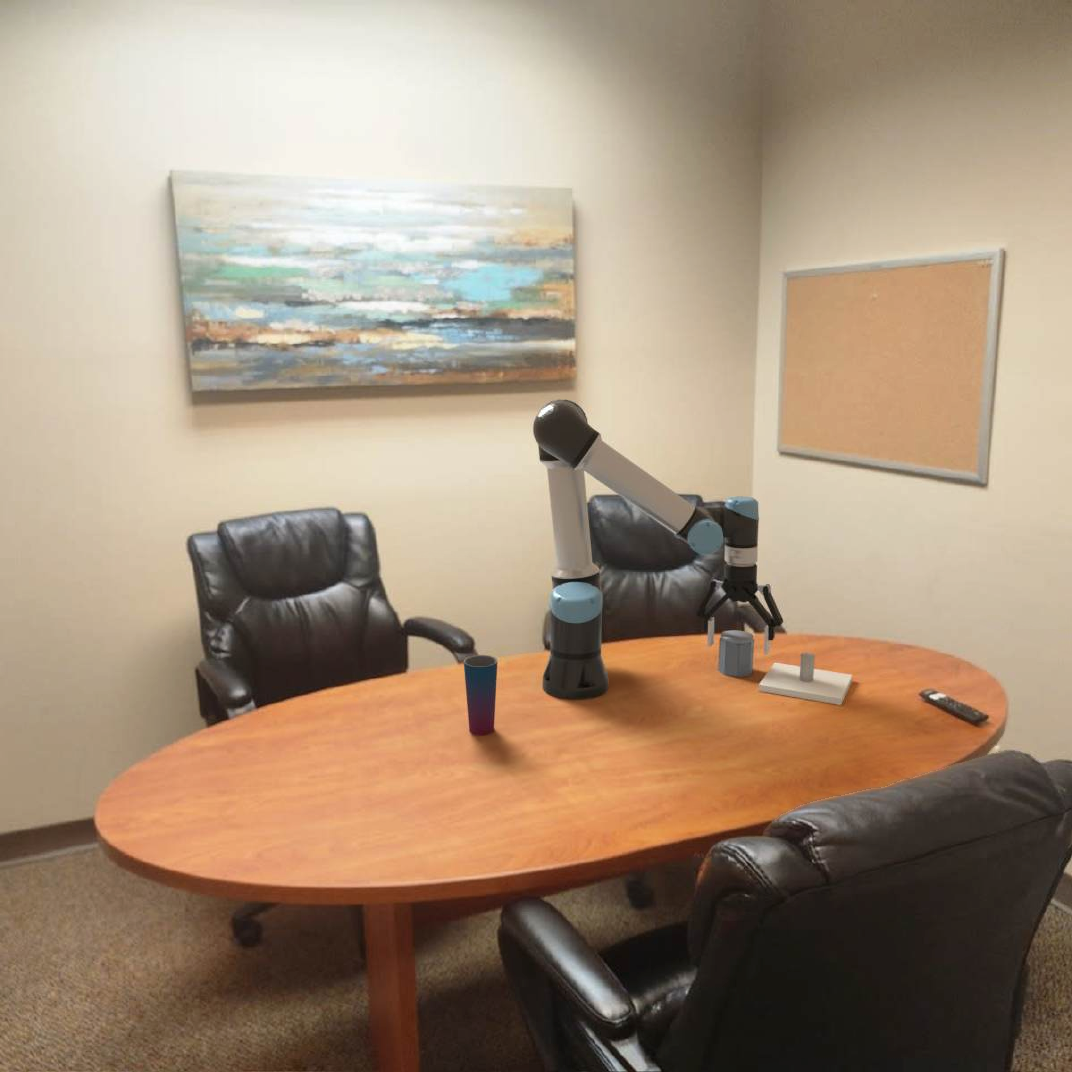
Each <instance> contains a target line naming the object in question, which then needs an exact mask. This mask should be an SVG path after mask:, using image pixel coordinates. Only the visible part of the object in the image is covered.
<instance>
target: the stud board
mask: <svg viewBox="0 0 1072 1072" xmlns="http://www.w3.org/2000/svg"><path fill="white" fill-rule="evenodd" d="M815 656H816V655H815V654H814V653H811V652H803V653H801V654H800V666H798V665H792V664H787V663H779V662H774V663H773V664H772V665H771V667H770V669H768V671H767V672H766V674H765V675H764V677H763V678H762V679H761V681H760V682H759V683H758V692H764V693H769V694H774V695H780V696H787V697H792V698H797V699H804V700H809V701H815V702H820V703H827V704H831V705H838V706H842V703H843V702H844V699H845V698H846V695H847V693H848V691H849V689H850V686H851V684H852V682H853V674H849V673H843V672H836V671H831V670H824V669H816V668H815V660H816V659H815V658H816V657H815Z"/></svg>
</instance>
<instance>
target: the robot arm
mask: <svg viewBox="0 0 1072 1072" xmlns="http://www.w3.org/2000/svg"><path fill="white" fill-rule="evenodd" d="M533 421H534V422H533V424H532V426H533V427H532V433H533V437H534V440H535V442H536V444H537V447H538V456H539V462H540V463H541V464H543V465H544V466H545V468H546V472H547V480H548V481H547V482H548V492H549V501H550V511H551V512H550V513H551V521H552V522H551V523H552V530H553V531H552V532H553V540H554V542H553V543H554V551H555V559H556V562H555V563H556V566H555V567H554V568H553V570H552V571H551V574H550V575H551V584H552V591H551V594H550V599H549V609H550V617H549V618H550V620H549V621H550V625H549V626H550V630H549V631H550V635H549V636H550V638H549V639H550V640H549V641H550V643H549V651H550V652H549V653H550V655H549V658H548V661H547V663H546V666H545V668H544V672H543V676H542V689H543V691H544V692H546V693H547V694H548V695H550V696H554V697H557V698H559V699H566V700H567V699H569V700H587V699H593V698H596V697H599V696H602V695H604V694H605V693H607V692H608V690H609V677H608V673H607V669H606V667H605V663H604V661H603V660H604V659H603V657H602V629H603V627H602V626H603V625H602V623H603V618H602V615H603V605H604V592H603V589H602V584H601V575H600V574H601V573H600V568H599V567H598V566H597V565H596V564H595V563H594V562H593V555H592V544H591V543H592V542H591V532H590V523H589V511H588V509H589V508H588V499H587V490H586V489H587V487H586V478H585V472H586V473H587V474H588V475H590V476H592V477H593V478H594V479H595V480H596V481H598V482H600V483H601V484H602V485H604V486H605V487H607V488H608V489H610V490H611V491H613V493H616V494H617V495H618V496H620V497H621V498H622V499H624V500H626V502H629V503H630V504H631V505H632V506H634V507H636V508H637V509H638V510H640V511H641V512H643V513H644V514H645V515H647V516H648V517H650V518H651V519H652V520H654V521H656V522H657V523H659V524H660V525H661V526H663V527H664V528H665V529H667V530H668V531H669V532H671V533H673V535H674V537H675V538H676V539H680V540H682V541H684V542H685V543H686V544H688V545H689V547H690V549H692V550H693V551H694V552H695V553H697V554H699V555H701V556H703V555H705V556H706V555H707V556H708V555H712V554H714V553H716V552H717V551H718V550H719V549H720V548H721V547H722V546H723V545H722V544H723V541H724V561H725V563H724V564H723V565H724V566H723V567H724V568H723V569H724V570H723V581H720V580H718V579H717V578H714V579H713V580H711V581H710V585H709V589H708V592H707V593H706V596H705V597H704V599H703V601H702V602H701V604H700V605H699V607H698V610H697V612H696V617H700V618H702V619H703V630H704V633H707V647H708V648H709V647H711V648H712V647H713V645H714V642H715V617H712V616H713V615H714V614H715V613H716V612H717V611H718V610H720V608H721V607H722V606H723V605H724V604H725V603H726V602H727V601H728V600H730V601H732V602H740V603H749V605H750V606H752V607H753V609H754V610H755V611H756V613H757V614H758V615H759V616H760V618H761V619H762V620H763V621H764V623H765V624H766V625H765V626H764V637H763V638H764V640H763V641H764V644H763V646H764V647H763V655H768V654H769V653H770V651H771V641H773V640H774V639H775V637H776V636H775V635H776V627H781V626H782V624H783V623H784V619H783V617H782V614H781V612H780V610H779V607H778V606H777V604H776V601H775V599H774V597H773V595H772V590H771V585H770V584H769V583H766V584H765V585H758V580H757V579H758V578H757V577H758V565H757V562H758V549H759V548H758V542H759V522H760V517H759V501H758V500H757V499H755V498H754V497H751V496H750V497H749V496H743V495H742V496H732V497H728V498H727V499H726V500H725V503H724V505H722V506H695V505H694V504H692V503H691V502H689V501H687V500H686V499H685V498H684V497H682V496H680V495H679V494H678V493H676V492H675V490H672V489H671V488H669V487H668V486H666V485H665V484H664V483H662V482H661V481H660V480H659V479H656V477H654V476H652V475H651V474H649V473H648V472H647V471H645V470H644V469H643V468H641V467H640V466H639V465H637V464H636V463H634V462H633V461H631V460H630V459H629V458H627V457H625V455H623V454H621V453H620V452H619V451H618V450H616V449H615V448H613V447H612V446H610V445H609V444H607V443H606V442H604V441H603V439H602V438H603V437H602V434H601V433H600V432H599V431H598V430H596V429H594V428H593V427H592V426H591V425H589V423H588V417H587V415H586V413H585V411H584V409H583V408H582V407H581V406H580V405H579V404H577V403H576V402H574V401H573V400H570V399H555V400H552V401H549V402H547V403H546V404H545V405H544V406H543V407H542V408H541V409H540V411H538V413H537V414H536V416H535V418H534V420H533ZM720 588H722V589H723V591H724V592H725V594H724V595H723V596H722V597H721V598H720V599H719V600H718V601H717V602H716V603H715V604H714V605H713V606H712V607H711V608H710V609H709V610H708V611H706V610H707V608H708V606H709V604H710V602H711V601H712V599H713V597H714V596H715V594H716V592H717V591H718V590H719V589H720ZM757 592H760V595H762V596H763V599H764V602H765V603H766V605H767V609H769V612H768V610H767V609H766V608H765V606H764V605H763V604H762V602H761V601H760V600H759V597H758V596H757V595H756V593H757Z"/></svg>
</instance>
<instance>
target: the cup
mask: <svg viewBox="0 0 1072 1072" xmlns="http://www.w3.org/2000/svg"><path fill="white" fill-rule="evenodd" d="M498 661H499V660H498V658H496V657H495V656H492V655H488V654H487V655H486V654H475V655H470V656H468V657H465V658H464V660H463V668H464V682H465V691H466V704H467V705H466V706H467V717H468V729H469V732H470V734H472V735H475V736H486V735H490V734H492V733H493V732H494V730H495V716H496V697H497V695H496V694H497V680H498V679H497V677H498Z"/></svg>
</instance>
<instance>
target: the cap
mask: <svg viewBox="0 0 1072 1072" xmlns="http://www.w3.org/2000/svg"><path fill="white" fill-rule="evenodd" d="M718 646H719V647H718V663H717V664H718V665H717V667H718V668H717V670H718V672H720V673H721V674H723V676H728V677H735V678H741V677H749V676H750V675H751V674H752V673H753V669H754V654H755V653H754V652H755V651H754V650H755V638H754V635H753V634H752V633H750V632H748V631H745V630H744V631H743V630H737V629H736V630H734V629H733V630H724V631H722V632H721V633H720V637H719V643H718Z"/></svg>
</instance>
